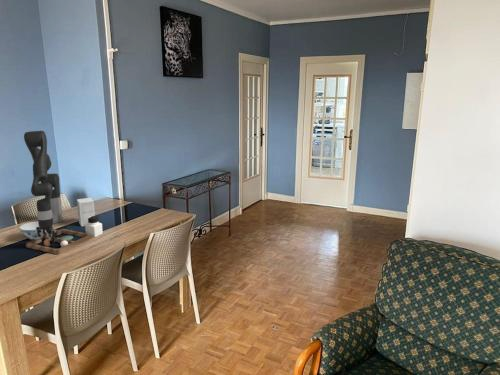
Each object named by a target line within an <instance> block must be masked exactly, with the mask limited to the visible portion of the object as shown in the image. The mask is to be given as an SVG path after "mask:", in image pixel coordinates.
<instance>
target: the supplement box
mask: <svg viewBox="0 0 500 375" xmlns="http://www.w3.org/2000/svg"><path fill="white" fill-rule="evenodd" d="M76 206H77V216H78V223H79V225H80V227H85V225H87V224H88V217H90V216H96V213H95V203H94V200H93V198H92V197H85V198H78V199H76Z"/></svg>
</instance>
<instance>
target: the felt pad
mask: <svg viewBox="0 0 500 375" xmlns="http://www.w3.org/2000/svg"><path fill="white" fill-rule="evenodd" d="M59 238H61V239H66V240H71V241H72V239H74V235H63V236H60V237H59Z"/></svg>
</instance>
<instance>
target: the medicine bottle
mask: <svg viewBox="0 0 500 375" xmlns="http://www.w3.org/2000/svg"><path fill="white" fill-rule="evenodd" d="M84 228H85V233H87V234H92V238H97V237H99V236H100V235H103V234H104V233H103V223H101V222H99V216H98V215H95V216H90V217H88V224H87V225H85V226H84Z"/></svg>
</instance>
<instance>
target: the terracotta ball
mask: <svg viewBox="0 0 500 375" xmlns="http://www.w3.org/2000/svg"><path fill="white" fill-rule="evenodd" d="M43 246H45V247H51V246H50V239H46V240H45V241H44V245H43Z"/></svg>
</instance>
